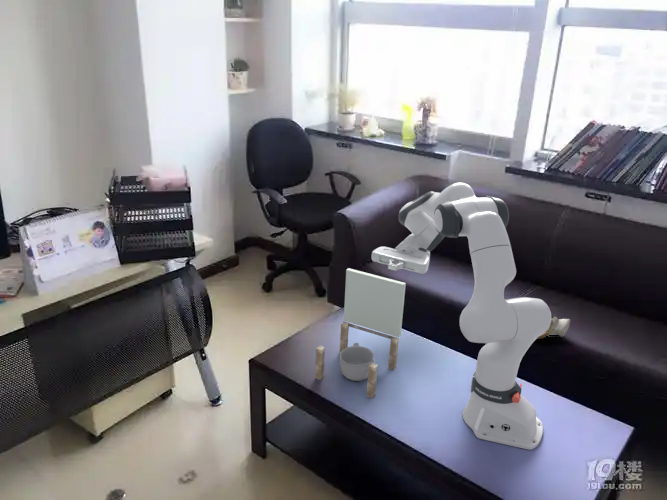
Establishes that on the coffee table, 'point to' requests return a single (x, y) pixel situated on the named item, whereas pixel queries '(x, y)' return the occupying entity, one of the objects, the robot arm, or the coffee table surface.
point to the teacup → (356, 362)
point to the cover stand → (372, 367)
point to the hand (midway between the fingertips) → (391, 268)
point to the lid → (374, 302)
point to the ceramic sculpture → (556, 327)
